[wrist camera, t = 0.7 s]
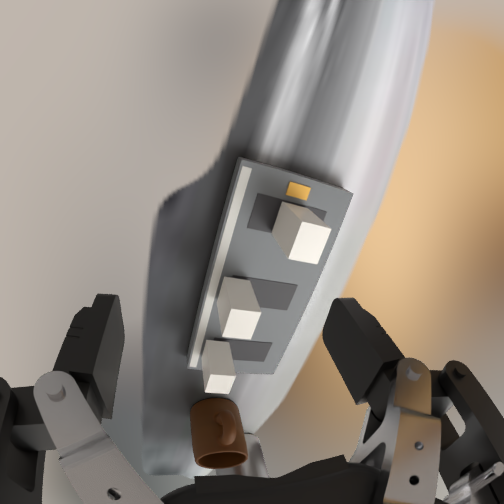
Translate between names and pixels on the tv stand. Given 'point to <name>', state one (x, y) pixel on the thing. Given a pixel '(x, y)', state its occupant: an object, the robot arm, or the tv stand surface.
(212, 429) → the mug
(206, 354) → the breaker
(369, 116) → the tv stand surface
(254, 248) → the breaker panel
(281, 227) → the block
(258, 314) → the block
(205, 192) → the tv stand surface
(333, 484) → the robot arm
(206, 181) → the tv stand surface
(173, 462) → the tv stand surface
